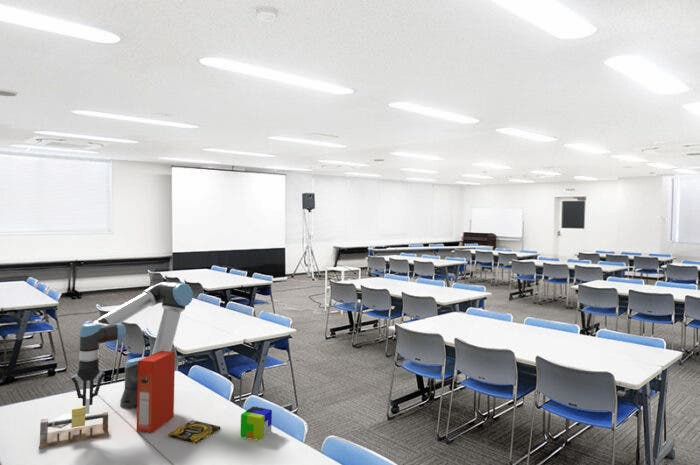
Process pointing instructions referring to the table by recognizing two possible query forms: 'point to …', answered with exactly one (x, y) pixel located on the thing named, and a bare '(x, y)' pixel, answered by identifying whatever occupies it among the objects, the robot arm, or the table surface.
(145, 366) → the file binder
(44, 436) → the comb stand
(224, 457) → the table surface
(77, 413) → the sleeve
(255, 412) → the puzzle toy
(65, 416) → the external hard drive
